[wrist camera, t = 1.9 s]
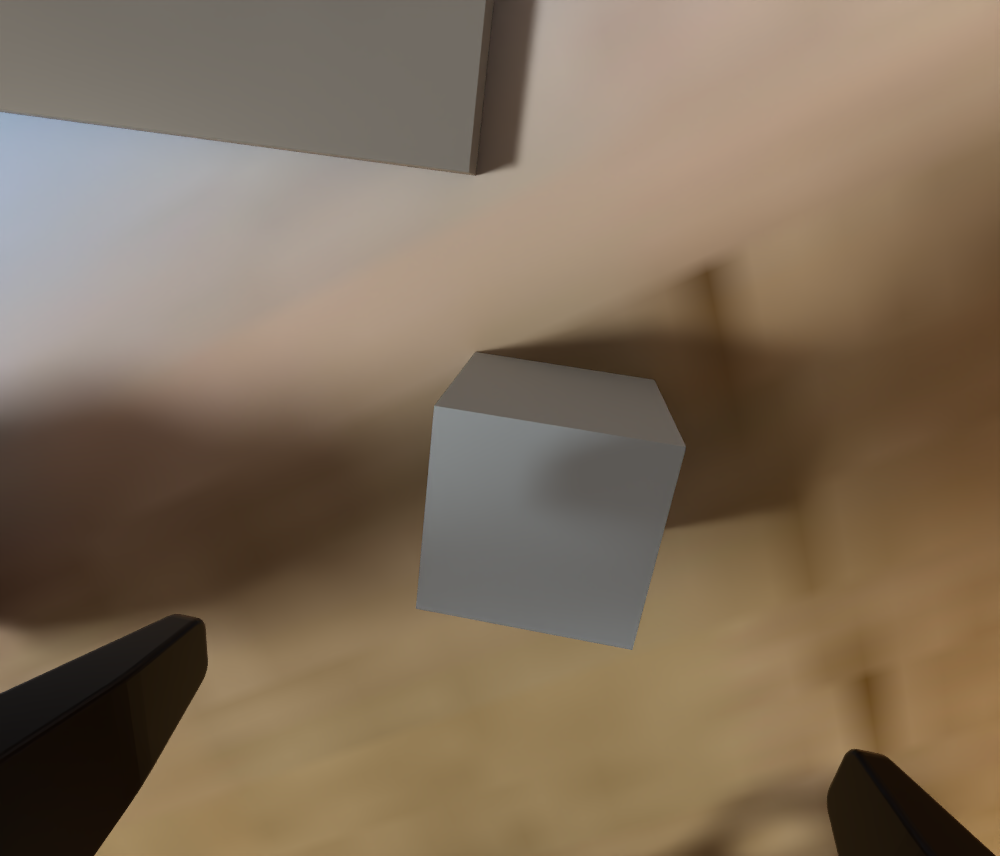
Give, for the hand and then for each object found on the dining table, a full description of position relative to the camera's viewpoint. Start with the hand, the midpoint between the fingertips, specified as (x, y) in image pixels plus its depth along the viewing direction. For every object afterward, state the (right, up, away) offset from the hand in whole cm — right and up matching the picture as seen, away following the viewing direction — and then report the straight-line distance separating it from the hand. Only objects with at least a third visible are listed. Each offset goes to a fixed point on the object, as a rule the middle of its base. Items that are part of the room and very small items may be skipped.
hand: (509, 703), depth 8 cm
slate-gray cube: (+1, +3, +9) cm, 10 cm away
